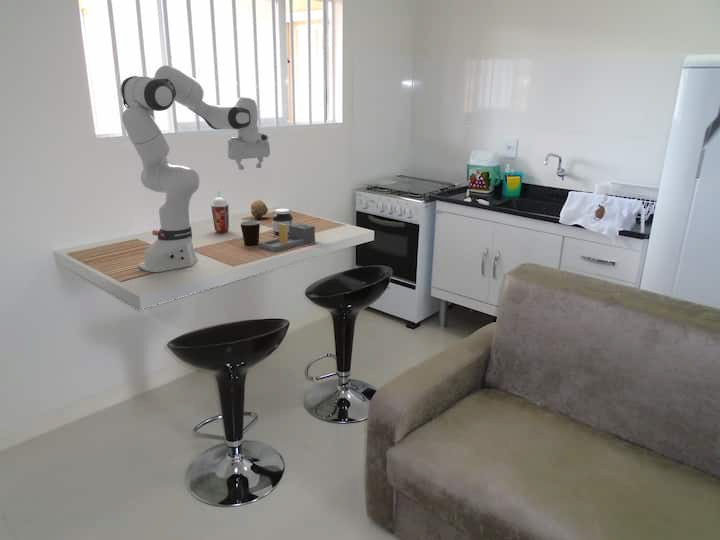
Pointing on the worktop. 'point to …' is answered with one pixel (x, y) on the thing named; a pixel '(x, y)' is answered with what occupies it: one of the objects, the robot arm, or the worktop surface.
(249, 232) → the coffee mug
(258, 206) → the natural sponge
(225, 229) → the smoothie
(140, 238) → the worktop surface
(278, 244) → the dispenser
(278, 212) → the spread jar
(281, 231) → the ticket
